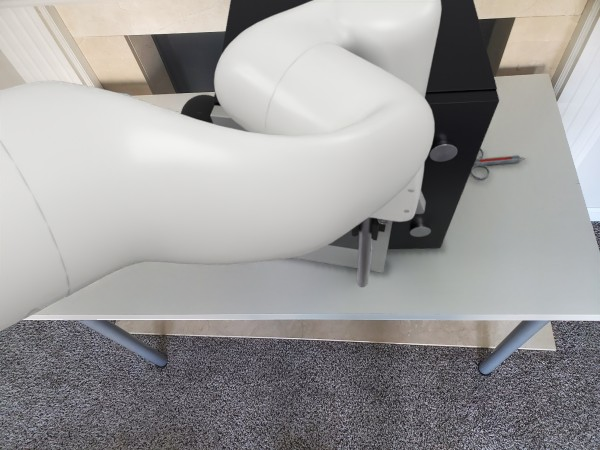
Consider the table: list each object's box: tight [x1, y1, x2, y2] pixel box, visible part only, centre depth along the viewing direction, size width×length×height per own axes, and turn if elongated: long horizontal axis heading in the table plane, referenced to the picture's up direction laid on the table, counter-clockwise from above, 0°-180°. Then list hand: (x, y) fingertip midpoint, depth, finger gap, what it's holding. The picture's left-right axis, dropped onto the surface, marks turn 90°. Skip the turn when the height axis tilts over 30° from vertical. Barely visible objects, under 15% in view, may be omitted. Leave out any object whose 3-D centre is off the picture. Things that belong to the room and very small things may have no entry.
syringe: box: [470, 148, 528, 181], centre depth 84 cm, size 8×18×2 cm, turn 92°
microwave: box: [213, 0, 500, 250], centre depth 70 cm, size 30×31×35 cm
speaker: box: [180, 94, 214, 124], centre depth 90 cm, size 10×10×10 cm
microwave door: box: [210, 105, 392, 288], centre depth 61 cm, size 7×22×35 cm, turn 77°
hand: (366, 227), depth 54 cm, fingers closed, pressing on microwave door
